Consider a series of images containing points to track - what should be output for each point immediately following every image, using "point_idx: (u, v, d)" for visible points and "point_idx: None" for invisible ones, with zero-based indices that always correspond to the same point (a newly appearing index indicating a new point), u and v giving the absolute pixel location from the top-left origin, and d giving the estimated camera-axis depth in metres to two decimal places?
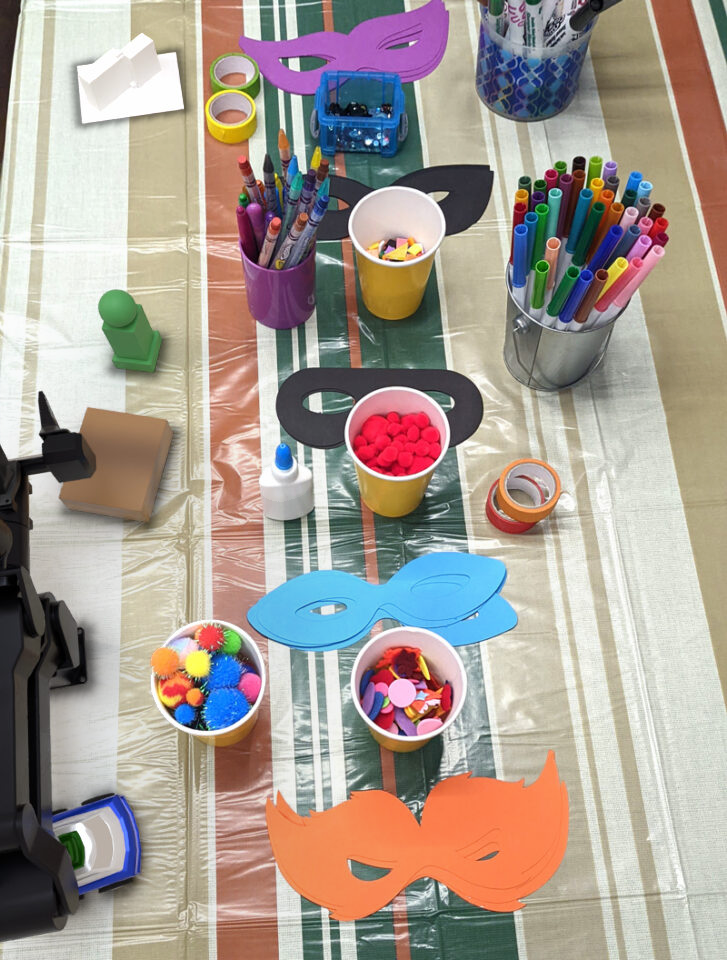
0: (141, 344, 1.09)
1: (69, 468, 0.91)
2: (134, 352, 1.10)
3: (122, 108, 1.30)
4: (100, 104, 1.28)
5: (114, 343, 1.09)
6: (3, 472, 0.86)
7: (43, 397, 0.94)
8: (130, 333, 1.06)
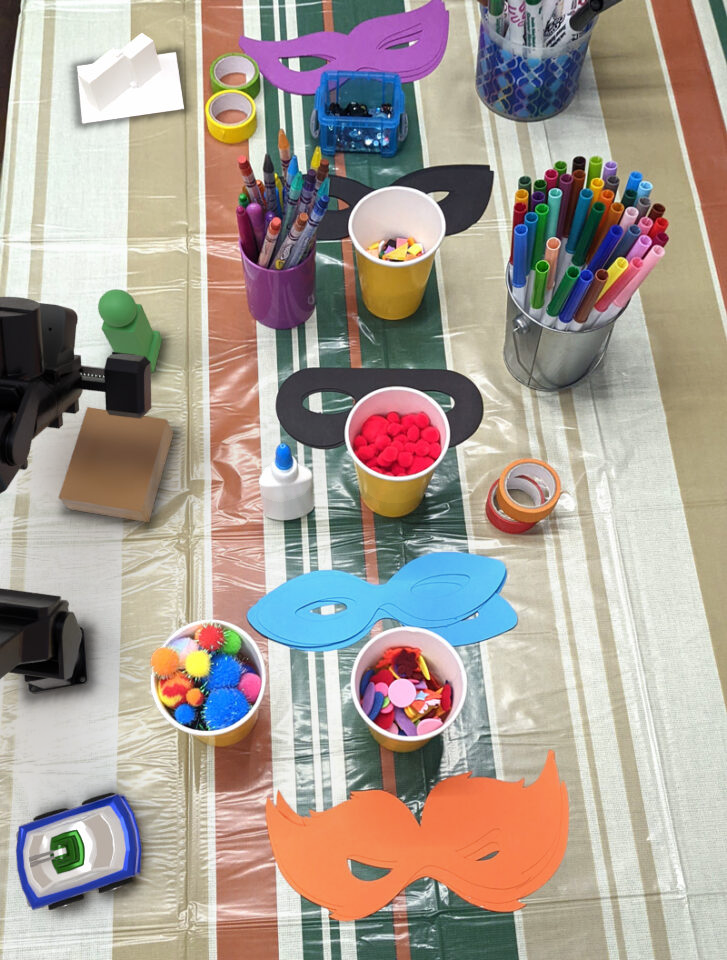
0: (141, 344, 1.09)
1: (123, 386, 0.89)
2: (134, 352, 1.10)
3: (122, 108, 1.30)
4: (100, 104, 1.28)
5: (114, 343, 1.09)
6: (65, 342, 0.86)
7: None
8: (130, 333, 1.06)
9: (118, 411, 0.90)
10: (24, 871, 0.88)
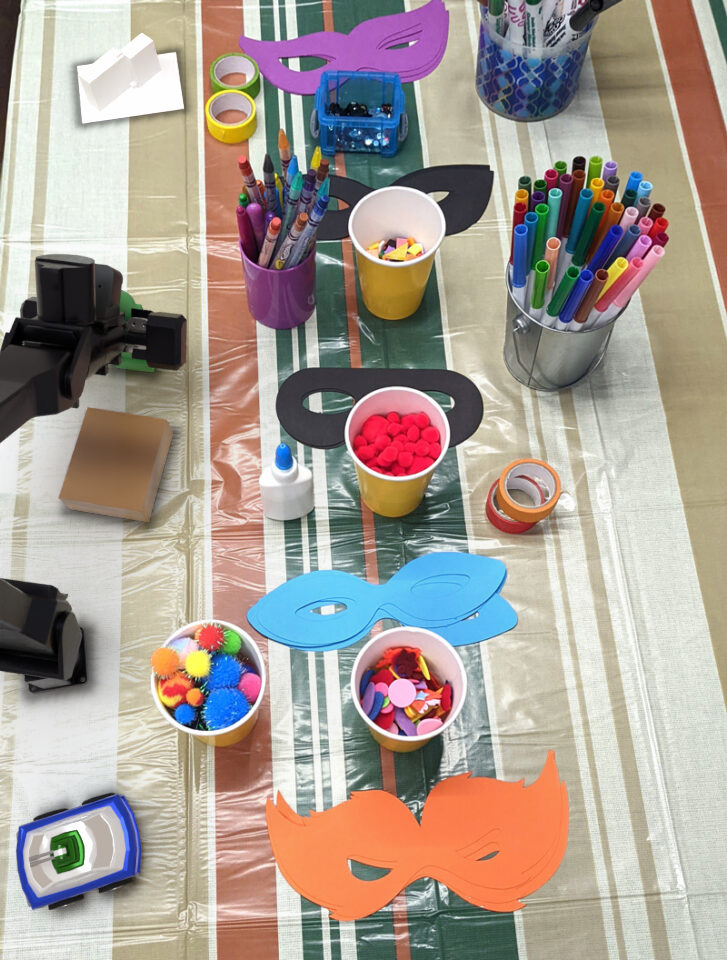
0: None
1: (163, 340, 0.99)
2: None
3: (122, 108, 1.30)
4: (100, 104, 1.28)
5: None
6: (113, 298, 0.96)
7: None
8: None
9: (157, 363, 1.01)
10: (24, 871, 0.88)
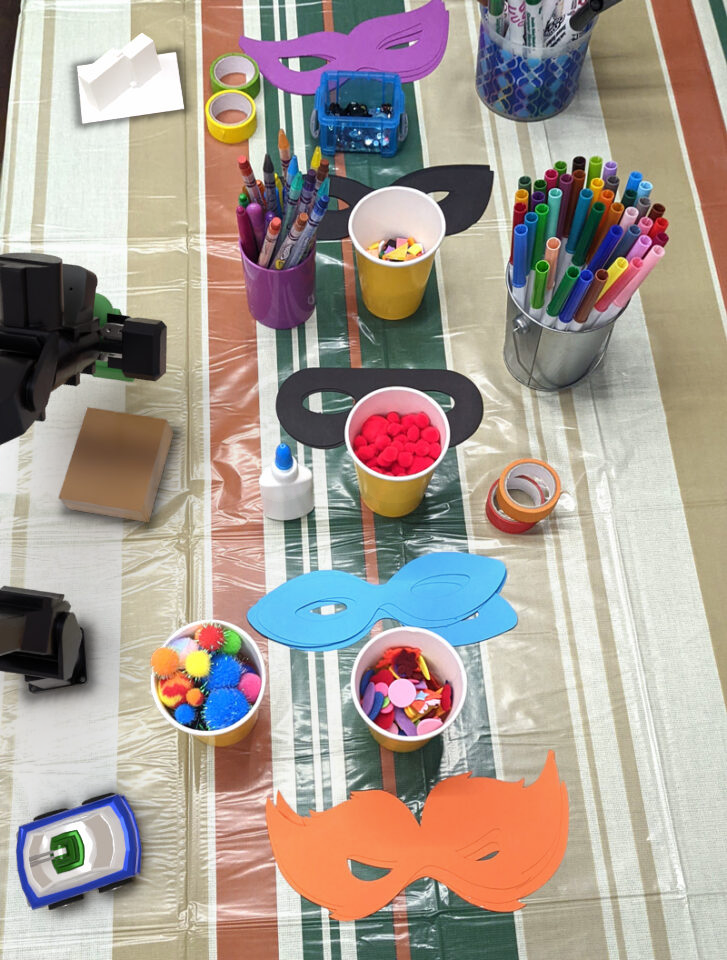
0: None
1: (140, 348, 0.91)
2: None
3: (122, 108, 1.30)
4: (100, 104, 1.28)
5: None
6: (85, 302, 0.88)
7: None
8: None
9: (134, 373, 0.93)
10: (24, 871, 0.88)
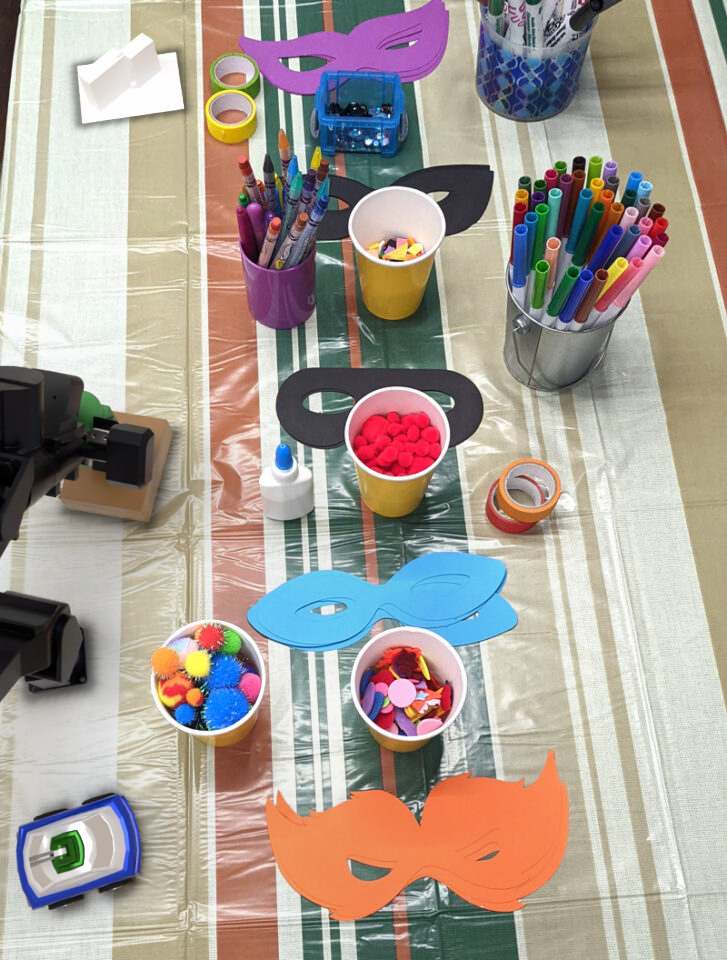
0: None
1: (125, 457, 0.88)
2: None
3: (122, 108, 1.30)
4: (100, 104, 1.28)
5: None
6: (69, 411, 0.85)
7: (114, 418, 0.96)
8: None
9: (118, 481, 0.89)
10: (24, 871, 0.88)
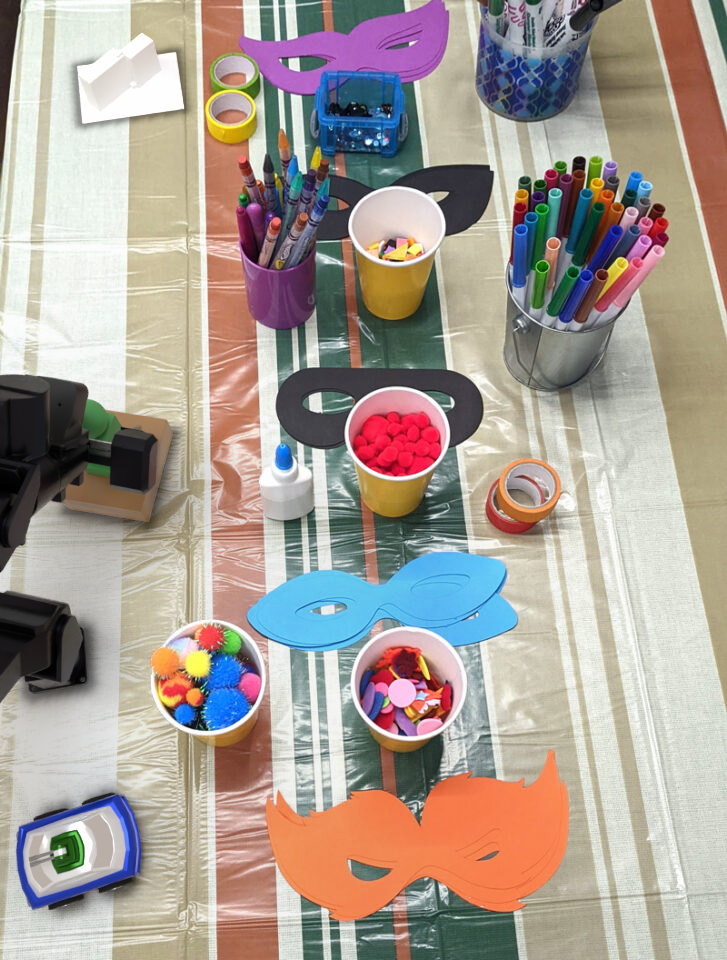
0: None
1: (129, 463, 0.89)
2: None
3: (122, 108, 1.30)
4: (100, 104, 1.28)
5: None
6: (74, 418, 0.86)
7: (139, 427, 0.97)
8: None
9: (122, 487, 0.90)
10: (24, 871, 0.88)
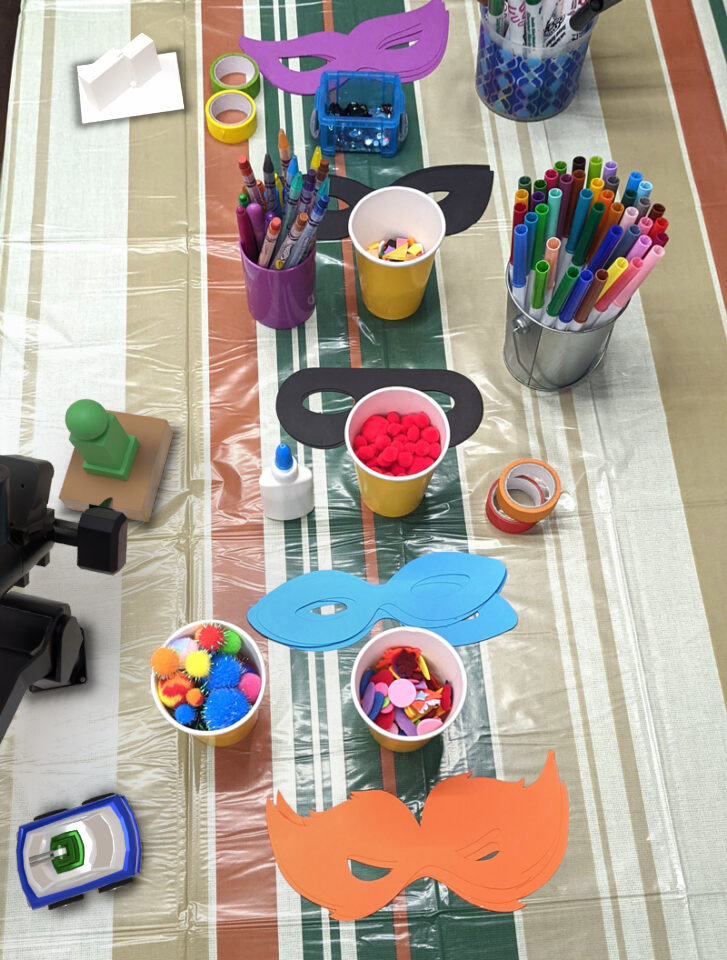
0: (113, 455, 0.99)
1: (96, 544, 0.85)
2: (105, 461, 1.01)
3: (122, 108, 1.30)
4: (100, 104, 1.28)
5: (83, 452, 0.99)
6: (38, 499, 0.82)
7: (110, 500, 0.93)
8: (100, 446, 0.96)
9: (90, 568, 0.86)
10: (24, 871, 0.88)
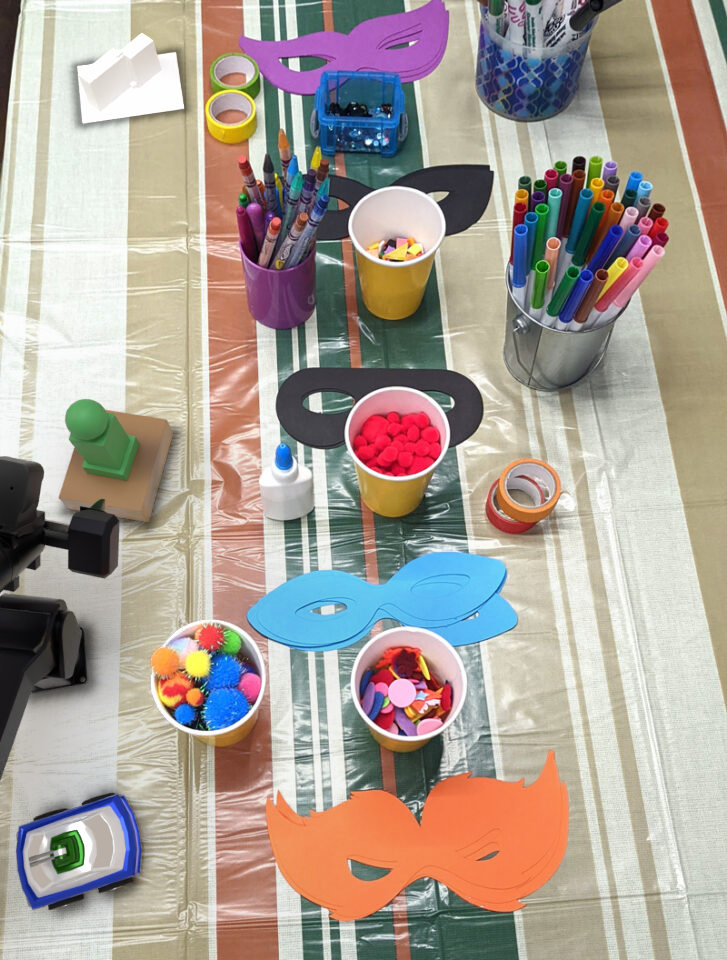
0: (113, 455, 0.99)
1: (87, 547, 0.83)
2: (105, 461, 1.01)
3: (122, 108, 1.30)
4: (100, 104, 1.28)
5: (83, 452, 0.99)
6: (27, 502, 0.80)
7: (102, 501, 0.92)
8: (100, 446, 0.96)
9: (81, 571, 0.85)
10: (24, 871, 0.88)
